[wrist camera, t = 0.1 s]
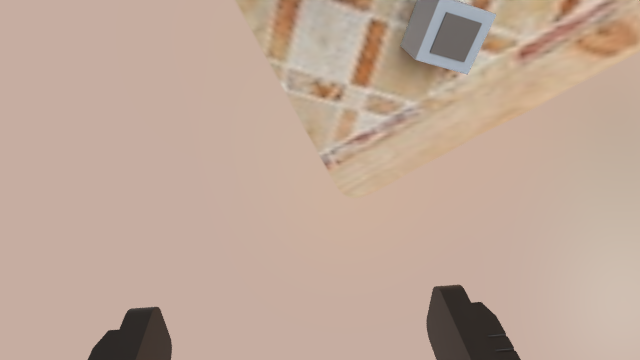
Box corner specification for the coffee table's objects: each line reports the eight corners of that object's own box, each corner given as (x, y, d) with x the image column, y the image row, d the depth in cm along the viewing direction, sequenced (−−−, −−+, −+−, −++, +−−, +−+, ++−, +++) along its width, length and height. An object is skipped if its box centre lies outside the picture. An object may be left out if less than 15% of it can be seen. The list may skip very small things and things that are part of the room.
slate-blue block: (421, -11, 34) (441, -4, 30) (470, 5, 35) (497, 14, 31) (399, 45, 36) (416, 60, 32) (446, 58, 37) (468, 75, 33)
